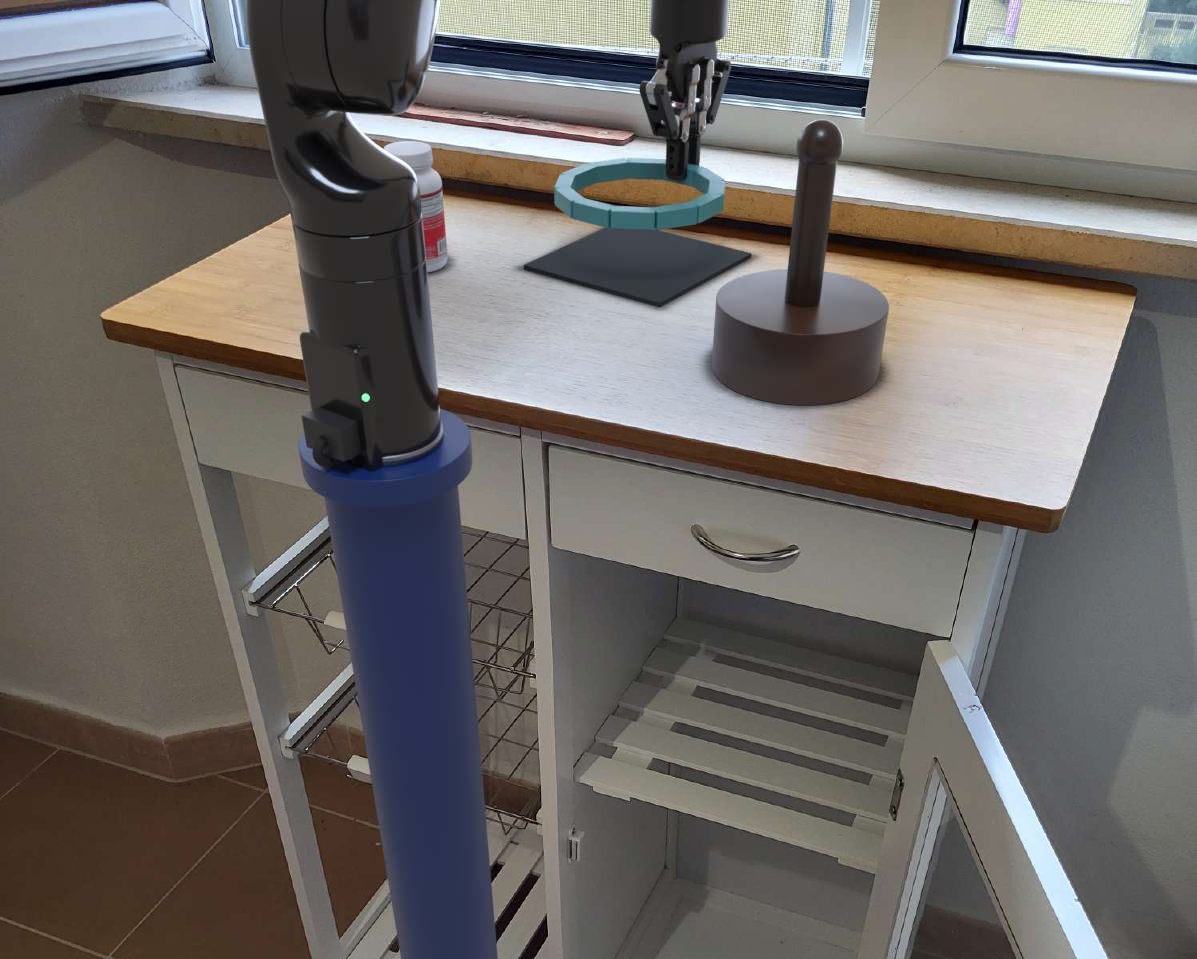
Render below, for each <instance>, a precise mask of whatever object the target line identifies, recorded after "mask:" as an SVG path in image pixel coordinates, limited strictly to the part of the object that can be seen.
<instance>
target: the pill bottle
mask: <svg viewBox="0 0 1197 959" xmlns="http://www.w3.org/2000/svg"><path fill="white" fill-rule="evenodd" d="M383 149H384V150H385V151H387V152H389V153H390V154H392V155H394V156H396V157H397V158H399V159H401V160H402V161H404V162H405V163H407V164H408V165H409V166H410V167H411V168H412V169H413V171H414V172H415V174H416V176H417V178H418V182H419V187H420V195H421V206H422V218H423V229H424V240H425V251H426V264H427V273H431V272H436V271H438V270H441V269H442V268H443V267H444V266H445V265H446V264H447V262H448V244H447V231H446V230H447V229H446V218H445V205H444V194H443V181H442V177H441V175H440V173H438V171H436V170H435V169H434V168H432V165H433V161H434V158H433V157H434V156H433V150H432V149H433V148H432V146H431V144H429V143H426V142H422V141H415V140H403V141H402V140H401V141H395V142H391V143H387V145H386V144H385V146H384V147H383Z"/></svg>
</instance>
